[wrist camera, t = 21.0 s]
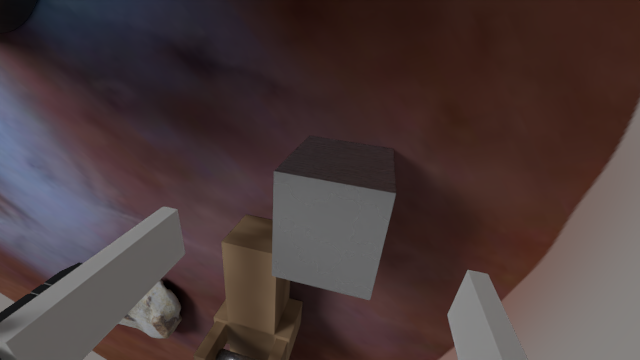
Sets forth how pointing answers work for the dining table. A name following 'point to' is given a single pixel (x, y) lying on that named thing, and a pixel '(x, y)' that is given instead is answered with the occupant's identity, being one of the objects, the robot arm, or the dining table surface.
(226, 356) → the lever
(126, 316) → the stone
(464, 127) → the dining table surface
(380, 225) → the brushed steel cube
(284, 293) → the tan wooden beam joint
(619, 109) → the dining table surface
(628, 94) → the dining table surface
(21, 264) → the dining table surface
